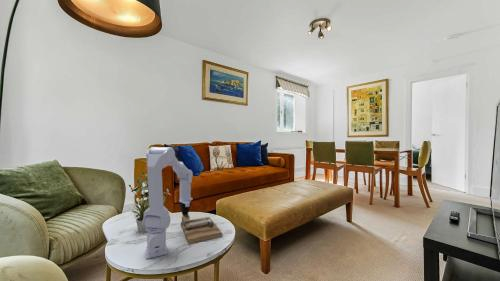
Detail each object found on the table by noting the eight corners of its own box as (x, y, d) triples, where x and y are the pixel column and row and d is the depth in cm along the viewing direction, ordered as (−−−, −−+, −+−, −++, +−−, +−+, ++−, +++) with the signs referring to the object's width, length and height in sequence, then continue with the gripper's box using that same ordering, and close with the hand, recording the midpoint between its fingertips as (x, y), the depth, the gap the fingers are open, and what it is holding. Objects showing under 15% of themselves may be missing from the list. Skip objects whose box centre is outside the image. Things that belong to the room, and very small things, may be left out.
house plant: (149, 238, 95) (149, 204, 95) (121, 237, 96) (121, 203, 95) (163, 225, 110) (163, 195, 109) (138, 224, 110) (138, 195, 110)
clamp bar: (212, 223, 105) (212, 220, 105) (186, 228, 99) (186, 225, 99) (210, 221, 108) (210, 218, 108) (185, 226, 102) (185, 222, 102)
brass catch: (189, 220, 104) (189, 217, 104) (184, 221, 103) (184, 217, 103) (187, 217, 108) (187, 213, 108) (183, 218, 107) (183, 214, 107)
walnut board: (221, 236, 98) (221, 226, 98) (188, 244, 91) (188, 233, 90) (209, 220, 117) (209, 212, 117) (180, 225, 110) (180, 216, 110)
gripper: (195, 193, 105) (195, 219, 105) (190, 187, 118) (189, 210, 118) (181, 195, 101) (181, 221, 102) (177, 188, 114) (177, 212, 114)
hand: (184, 216), depth 109 cm, fingers closed
